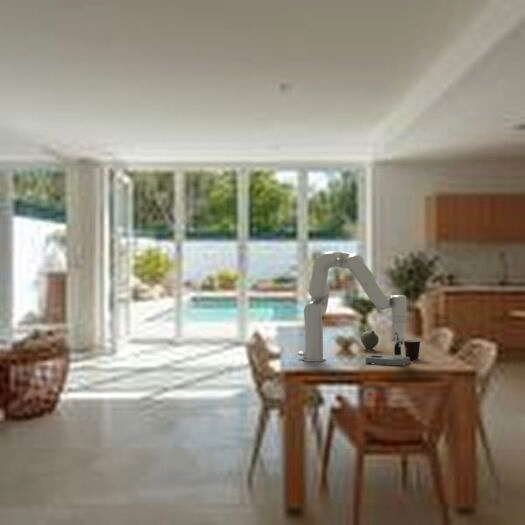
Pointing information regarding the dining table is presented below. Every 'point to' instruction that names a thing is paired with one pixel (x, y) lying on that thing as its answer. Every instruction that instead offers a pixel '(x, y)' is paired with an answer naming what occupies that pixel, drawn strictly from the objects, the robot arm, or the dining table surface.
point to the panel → (387, 360)
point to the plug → (401, 353)
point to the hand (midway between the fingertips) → (398, 353)
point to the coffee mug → (412, 348)
